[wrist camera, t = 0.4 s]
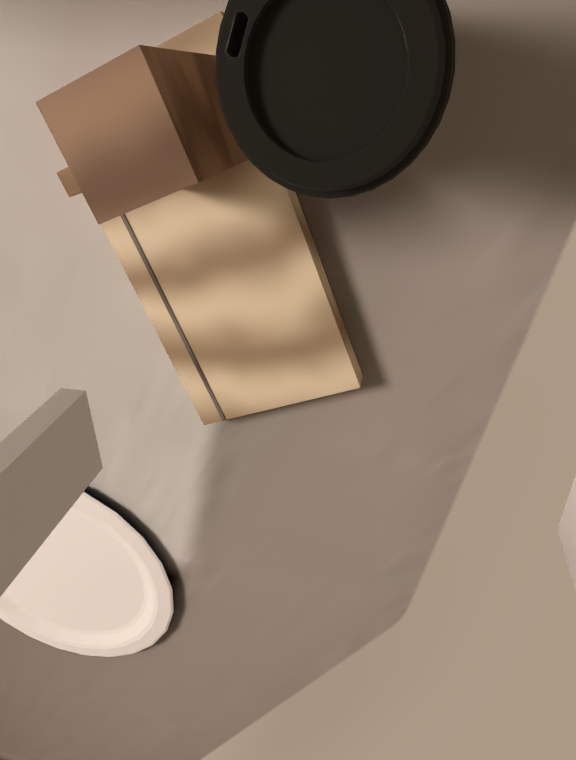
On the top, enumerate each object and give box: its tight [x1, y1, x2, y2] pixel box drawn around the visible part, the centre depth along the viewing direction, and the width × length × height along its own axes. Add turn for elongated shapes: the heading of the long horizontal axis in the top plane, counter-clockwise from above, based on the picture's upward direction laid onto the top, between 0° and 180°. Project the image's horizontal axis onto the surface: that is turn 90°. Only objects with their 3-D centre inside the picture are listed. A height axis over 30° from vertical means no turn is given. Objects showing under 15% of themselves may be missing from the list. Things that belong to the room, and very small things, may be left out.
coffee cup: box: [216, 0, 455, 198], centre depth 27 cm, size 10×10×15 cm
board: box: [101, 12, 363, 425], centre depth 40 cm, size 26×14×2 cm, turn 22°
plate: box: [0, 491, 174, 657], centre depth 63 cm, size 29×29×2 cm
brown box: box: [36, 45, 249, 224], centre depth 31 cm, size 6×12×11 cm, turn 111°
